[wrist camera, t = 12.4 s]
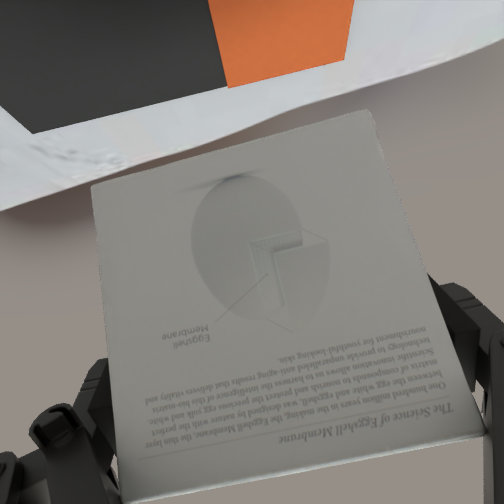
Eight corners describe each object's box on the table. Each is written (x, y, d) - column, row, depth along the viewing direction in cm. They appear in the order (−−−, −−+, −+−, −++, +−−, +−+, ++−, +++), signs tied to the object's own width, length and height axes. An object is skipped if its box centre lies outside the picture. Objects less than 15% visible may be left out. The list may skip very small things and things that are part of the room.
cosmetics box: (158, 237, 19) (185, 454, 16) (86, 181, 13) (107, 514, 10) (353, 188, 18) (423, 409, 15) (374, 103, 12) (500, 443, 9)
